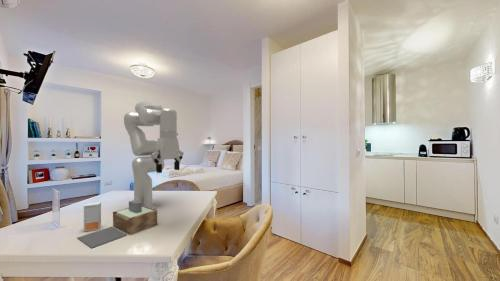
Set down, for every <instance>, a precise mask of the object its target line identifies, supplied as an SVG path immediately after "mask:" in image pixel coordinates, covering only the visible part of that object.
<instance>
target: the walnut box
mask: <svg viewBox="0 0 500 281" xmlns="http://www.w3.org/2000/svg"><path fill="white" fill-rule="evenodd" d="M142 207H145V206H142ZM145 208H148V207H145ZM125 209H129V207H126V208H122V209H120V210H115V211H113V212H112V227H113V228H115V229H117V230H119V231H121V232H123V233H125V234H127V235H130V236H131V235H133V234H136V233H138V232H141V231H144V230H147V229H149V228H152V227H155V226H157V225H158V210H157V209H151V208H148V209H151V210H154V211H151V212H148V213H145V214H142V215H138V216H135V217H132V218H129V219H127V218H125V217H122V216H120V215H118V214H116V212H118V211H122V210H125Z"/></svg>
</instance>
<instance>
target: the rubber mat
mask: <svg viewBox="0 0 500 281" xmlns="http://www.w3.org/2000/svg"><path fill="white" fill-rule="evenodd" d="M126 236H128V234H127V233H125V232H123V231H121V230H119V229H117V228H115V227H113V226H109V227H106V228H103V229H98V230H95V231H93V232H90V233H87V234H84V235H81V236H78V237H76V239H77V240H78V241H80V242H81V243H83V244H84V245H86V246H87V247H88V248H90V249H94V248H97V247H100V246H102V245H104V244H107V243H110V242H113V241H115V240H118V239H122V238H123V237H126Z"/></svg>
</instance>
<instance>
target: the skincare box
mask: <svg viewBox="0 0 500 281" xmlns="http://www.w3.org/2000/svg"><path fill="white" fill-rule="evenodd" d="M101 226H102V201H95V202H88V203H87V202H86V203H85V204H84V205H83V232H84V233H85V232H89V231H99V230H101Z"/></svg>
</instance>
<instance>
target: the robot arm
mask: <svg viewBox="0 0 500 281" xmlns="http://www.w3.org/2000/svg"><path fill="white" fill-rule="evenodd" d="M134 110H135V111H130V112H127V113H125V114H124V116H123V124H124V127H125V130H126V131H127V134H128V136H129V140H130V145H131V146H130V147H131V152H132V154H133V155H134V156H135V158H133V160H132V162H131V167H132V172H133V200H135V201H139V202H142V206H145V207H148V208H151V209H154V210H156V206H155V205H153V179H152V176H150V175H149V173H155V172H156V173H157V174H162V172H163V170H164V168H165V161H167V160H172V159H173V160H174V162H173V169H174V171H180V163H181V161H182V159H183V156H184V154H185V153H184V151H181V150H180V145H179V138H178V136H179V133H178V131H177V130H178V126H177V122H178V121H177V120H178V117H177V116H178V115H177V114H178V113H177V111H176V109H172V108H163V107H162V105H161V104H160V103H157V102H150V101H149V102H148V101H139V102H137V103H136V104H135V106H134ZM154 126H159V138H157V140H152V139H151V140H148V139H147V138H146V134H145V132H144V131H143V130H142V129H141V128H140V127H154Z"/></svg>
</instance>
